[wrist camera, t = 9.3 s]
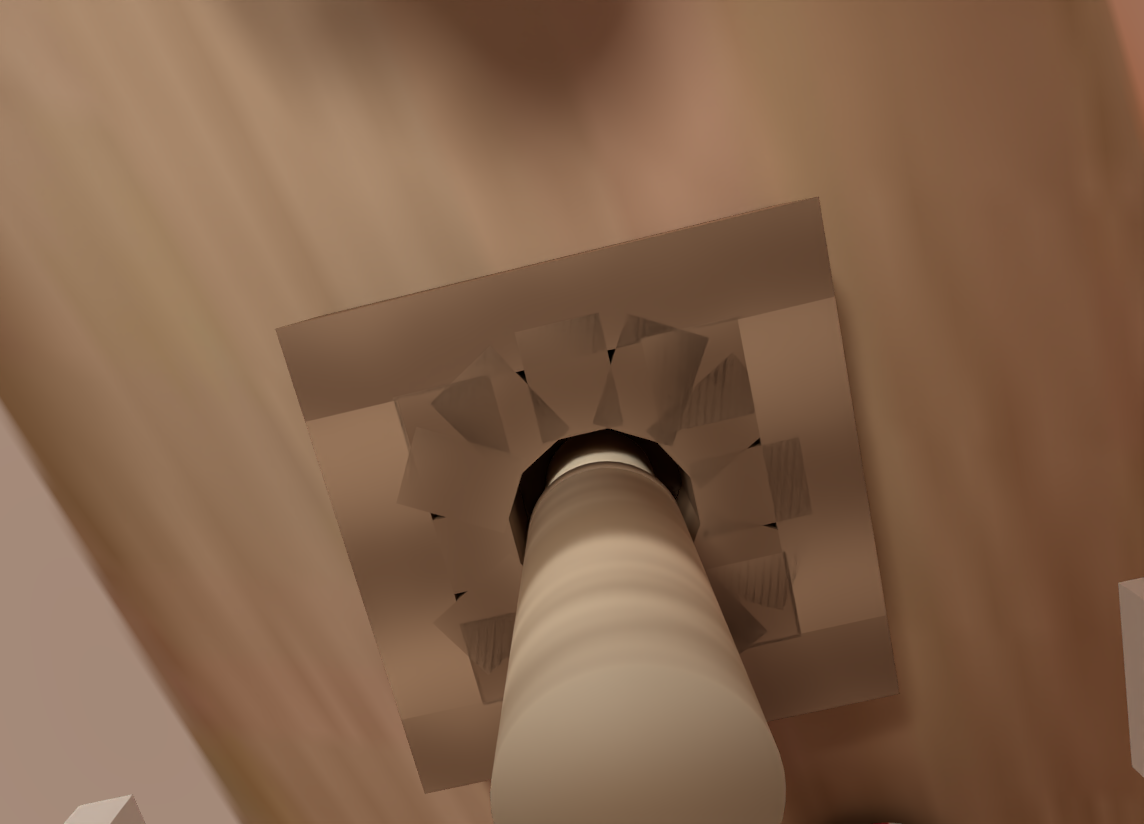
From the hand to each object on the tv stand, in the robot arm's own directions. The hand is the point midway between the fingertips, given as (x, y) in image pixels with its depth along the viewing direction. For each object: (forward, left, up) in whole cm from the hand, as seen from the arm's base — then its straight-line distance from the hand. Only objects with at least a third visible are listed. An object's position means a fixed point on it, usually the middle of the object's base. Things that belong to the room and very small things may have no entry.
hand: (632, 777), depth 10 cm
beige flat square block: (0, 0, -14) cm, 14 cm away
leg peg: (0, 0, -14) cm, 14 cm away
